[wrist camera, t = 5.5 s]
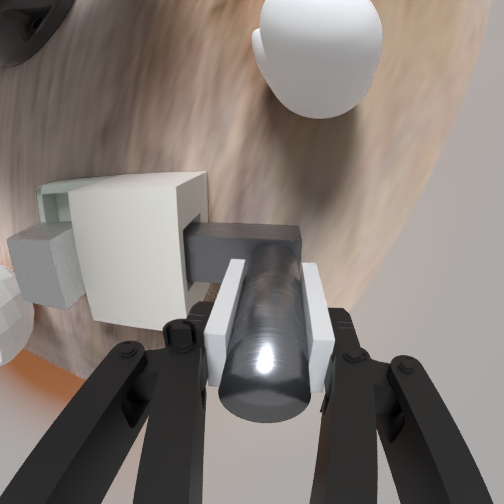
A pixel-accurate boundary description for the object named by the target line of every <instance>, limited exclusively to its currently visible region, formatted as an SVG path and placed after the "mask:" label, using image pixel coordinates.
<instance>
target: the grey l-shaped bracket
mask: <svg viewBox="0 0 504 504" xmlns="http://www.w3.org/2000/svg"><path fill="white" fill-rule="evenodd" d="M66 222H72V221H66ZM183 242H184V255H185V268H186V279H187V281H191V282H206V283H222V282H223V279H224V277H225V274H226V271H227V269H228V266H229V263H230V261H231V259H243V260H245V281H244V285H243V290H242V294H241V298H240V302H239V306H238V310H237V315H236V319H235V323H234V327H233V331H232V335H231V340H230V344H229V348H228V352H227V356H226V360H225V365H224V369H223V373H222V377H221V381H220V385H219V390H218V391H219V392H218V394H219V398H220V401H221V403H222V404H223V406H224V407H225V408H226V409H227V410H228V411H230V412H231V413H232V414H234V415H236V416H237V417H240V418H242V419H245V420H248V421H252V422H258V423H275V422H281V421H285V420H288V419H291V418H293V417H295V416H297V415H298V414H300V413H301V412H302V411H304V410H305V408H306V407H307V406H308V404H309V402H310V399H311V389H310V377H309V365H308V354H307V344H306V334H305V324H304V315H303V306H302V297H301V289H300V281H299V274H300V262H301V249H302V238H301V233H300V228H299V226H294V225H270V224H242V223H208V222H190V223H189V224H188V225H187V226H186V227H185V228H184V229H183Z"/></svg>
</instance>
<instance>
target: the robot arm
mask: <svg viewBox="0 0 504 504" xmlns="http://www.w3.org/2000/svg"><path fill="white" fill-rule="evenodd" d="M72 2H73V0H0V66H4V67H13V66H16V65H19V64H21V63H23V62H24V61H26V60H27V59H29V58H30V57H31V56H33V55H34V54H35V53H36V52H37V51H38V50H39V49H40V48H41V47H42V46H43V45H44V44H45V43H46V42H47V40H48V39H49V38H50V37H51V36H52V34H53V33H54V32H55V30H56V29H57V28H58V26H59V25H60V23H61V22H62V20H63V19H64V17H65V15H66V14H67V12H68V10H69V8H70V6H71V4H72ZM244 281H245V260H243V259H231V261H230V263H229V266H228V269H227V271H226V274H225V277H224V279H223V282H222V285H221V287H220V290H219V293H218V295H217V298H216V301H215V302H203V301H199V302H197V303H196V304H195V305H193V306H192V307H191V309H190V312H189V315H188V316H187V318H186V319H175V320H172V321H169V322H168V323H166V324H165V325H164V327H163V328H162V329H163V335H164V340H165V346H166V347H165V348H163V349H158V350H147V351H145V349H144V346H143V345H142V344H141V343H139V342H136V341H124V342H121V343H119V344H117V345H116V346H115V347H114V348H113V349H112V350H111V351H110V352H109V353H108V355H107V356H106V357H105V358H104V360H103V361H102V362H101V363H100V364H99V366H98V367H97V368H96V369H95V371H94V372H93V373H92V374H91V375H90V377H89V378H88V379H87V380H86V382H85V383H84V384H83V385H82V387H81V388H80V389H79V391H78V392H77V393H76V395H74V397H73V398H72V399H71V401H70V402H69V403H68V404H67V406H66V407H65V408H64V410H63V411H62V412H61V414H60V415H59V416H58V417H57V419H56V420H55V421H54V422H53V424H52V425H51V427H50V428H49V429H48V430H47V432H46V433H45V435H44V436H43V437H42V439H41V440H40V441H39V442H38V444H37V445H36V447H35V448H34V449H33V451H32V452H31V453H30V455H29V456H28V458H27V459H26V460H25V462H24V463H23V465H22V466H21V467H20V469H19V470H18V472H17V473H16V474H15V476H14V478H13V479H12V480H11V482H10V483H9V485H8V486H7V488H6V489H5V491H4V492H3V494H2V495H1V496H0V504H101V503H102V501H103V499H104V497H105V495H106V493H107V491H108V489H109V488H110V486H111V484H112V482H113V480H114V478H115V476H116V475H117V473H118V471H119V469H120V467H121V465H122V463H123V461H124V460H125V458H126V456H127V454H128V452H129V451H130V449H131V447H132V445H133V443H134V441H135V439H136V438H137V436H138V434H139V432H140V430H141V428H142V427H143V425H144V423H145V421H146V419H147V418H148V416H149V419H148V423H147V428H146V433H145V438H144V443H143V448H142V453H141V459H140V464H139V469H138V475H137V481H136V486H135V492H134V499H133V504H202V487H203V454H204V431H205V411H206V387H205V386H206V383H207V379H208V383H209V386H215V387H219V385H220V381H221V377H222V373H223V369H224V365H225V360H226V356H227V352H228V348H229V344H230V340H231V335H232V331H233V327H234V323H235V319H236V315H237V310H238V306H239V302H240V298H241V294H242V290H243V285H244ZM300 289H301V297H302V306H303V315H304V324H305V334H306V344H307V354H308V365H309V377H310V389H311V392H323V388H324V384H325V391H326V393H325V396H324V400H323V403H322V407H321V410H320V412H322V418H321V427H320V436H319V444H318V452H317V459H316V466H315V473H314V480H313V486H312V492H311V498H310V504H377V479H378V474H377V473H378V472H377V471H378V470H377V469H378V468H377V467H378V466H377V433H376V428H377V431H378V434H379V437H380V440H381V442H382V446H383V448H384V452H385V455H386V457H387V461H388V464H389V467H390V470H391V473H392V477H393V480H394V483H395V486H396V489H397V493H398V496H399V500H400V503H401V504H493V502H492V499H491V497H490V494H489V492H488V490H487V487H486V485H485V483H484V480H483V478H482V476H481V474H480V472H479V469H478V467H477V465H476V463H475V461H474V459H473V457H472V455H471V453H470V451H469V449H468V447H467V445H466V443H465V441H464V439H463V437H462V435H461V433H460V431H459V429H458V427H457V425H456V423H455V422H454V420H453V418H452V416H451V414H450V412H449V411H448V409H447V407H446V405H445V404H444V402H443V400H442V398H441V396H440V395H439V393H438V391H437V389H436V388H435V386H434V384H433V383H432V381H431V379H430V378H429V376H428V374H427V373H426V371H425V370H424V368H423V366H422V364H421V363H420V362H419V361H418V360H417V359H415V358H413V357H410V356H407V355H400V356H397V357H395V358H393V359H392V361H391V363H390V364H389V363H384V362H378V361H375V360H372V359H371V358H370V355H369V353H368V352H367V351H366V350H365V349H363V348H361V347H360V344H359V341H358V338H357V335H356V332H355V329H354V326H353V323H352V320H351V317H350V314H349V313H348V312H347V311H346V310H345V309H344V308H327V304H326V300H325V296H324V292H323V288H322V284H321V281H320V277H319V273H318V269H317V265H316V263H302V267H301V277H300Z"/></svg>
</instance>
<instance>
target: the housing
mask: <svg viewBox="0 0 504 504" xmlns="http://www.w3.org/2000/svg"><path fill="white" fill-rule="evenodd" d="M68 197H69V205H70V213H71V220H72V227H73V233H74V239H75V244H76V250H77V255H78V260H79V265H80V269H81V274H82V278H83V282H84V287H85V291H86V295H87V298H88V302H89V306H90V310H91V313H92V317H93V320H95V321H100V322H106V323H112V324H118V325H124V326H131V327H137V328H144V329H152V330H159V331H163V329H162V328H163V327H164V325H165V324H166V323H168V322H169V321H172V320H175V319H186V318H187V316H188V315H189V312H190V309H191V307H192V306H193V305H195V304H196V303H197V302H199V301H203V300H204V298H205V296H206V294H207V291H208V289H209V287H210V285H211V283H206V282H191V281H187V279H186V268H185V255H184V242H183V229H184V228H185V227H186V226H187V225H188V224H189V223H190V222H208V195H207V171H201V172H163V173H142V174H125V175H118V176H115V177H111V178H108V179H105V180H102V181H99V182H96V183H93V184H90V185H87V186H84V187H81V188H78V189H75V190H72V191H69V192H68Z"/></svg>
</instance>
